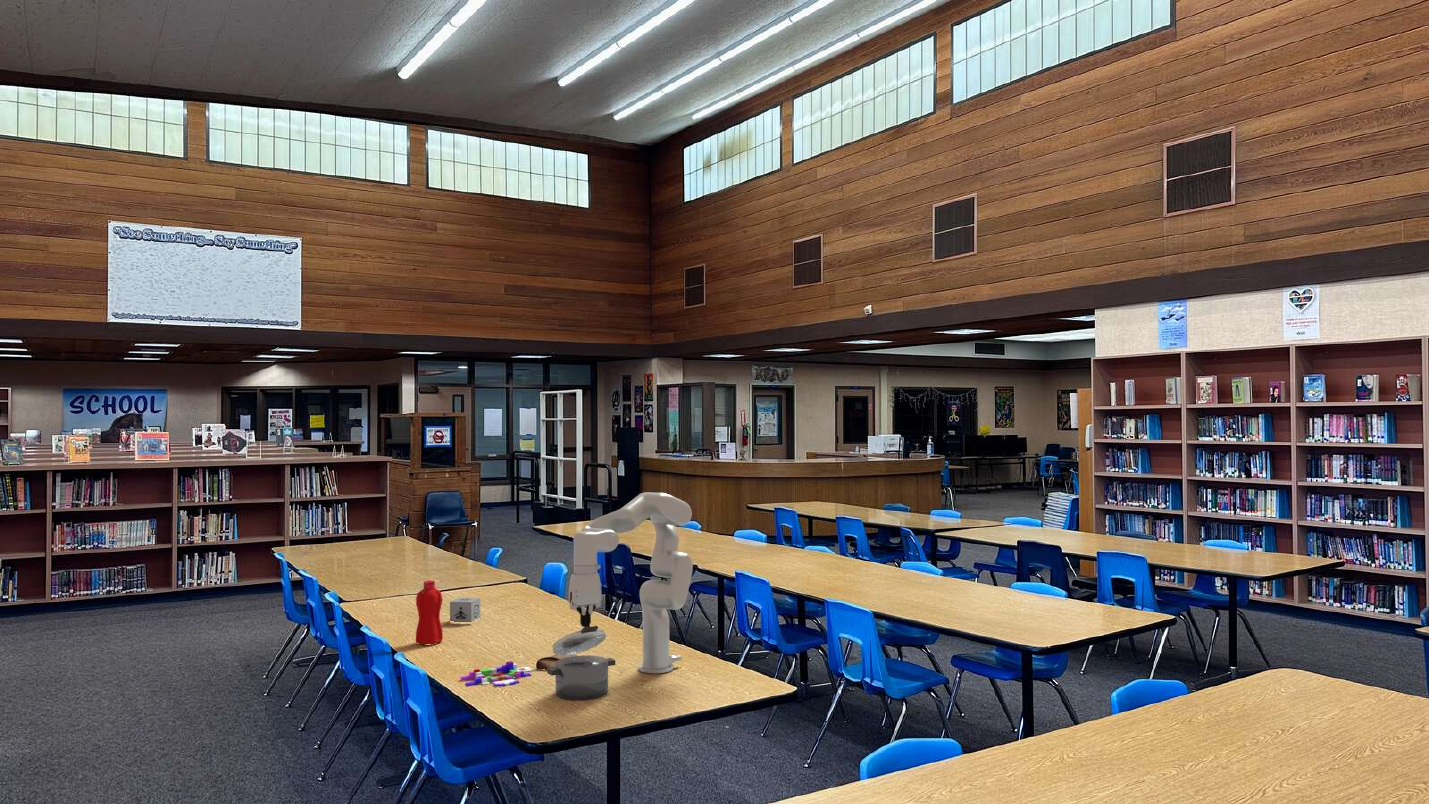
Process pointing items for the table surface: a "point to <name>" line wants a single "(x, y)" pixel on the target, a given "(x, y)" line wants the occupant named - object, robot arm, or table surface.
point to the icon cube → (464, 609)
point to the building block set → (488, 674)
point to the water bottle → (429, 614)
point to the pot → (581, 677)
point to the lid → (579, 641)
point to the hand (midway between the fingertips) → (585, 626)
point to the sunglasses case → (549, 661)
